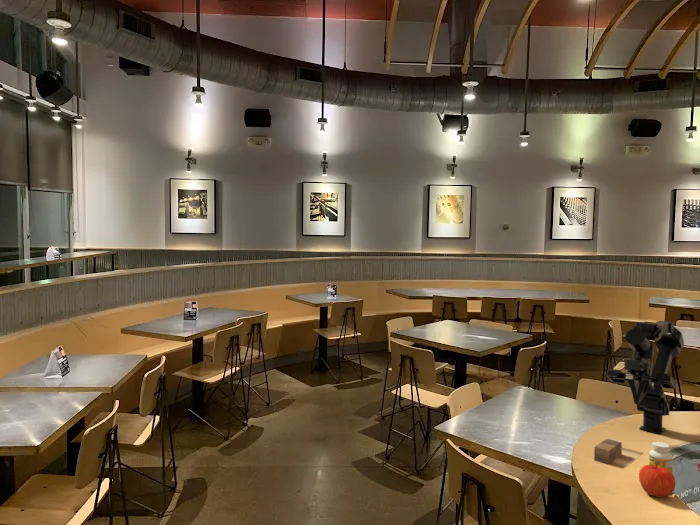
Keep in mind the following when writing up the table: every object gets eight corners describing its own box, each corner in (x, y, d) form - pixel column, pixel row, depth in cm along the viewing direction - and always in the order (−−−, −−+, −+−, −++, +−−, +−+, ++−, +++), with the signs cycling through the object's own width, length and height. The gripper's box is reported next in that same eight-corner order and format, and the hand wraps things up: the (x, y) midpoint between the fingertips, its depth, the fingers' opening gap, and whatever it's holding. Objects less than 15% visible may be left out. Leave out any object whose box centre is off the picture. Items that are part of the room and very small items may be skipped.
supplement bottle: (677, 482, 137) (677, 446, 137) (661, 485, 136) (662, 449, 135) (659, 474, 142) (660, 439, 142) (644, 476, 141) (644, 441, 140)
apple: (637, 496, 130) (637, 465, 129) (640, 484, 136) (640, 454, 136) (674, 505, 125) (675, 473, 125) (675, 492, 132) (676, 461, 131)
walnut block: (607, 437, 157) (594, 446, 151) (621, 441, 154) (608, 450, 148) (607, 450, 157) (594, 460, 151) (621, 454, 154) (608, 464, 148)
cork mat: (615, 446, 162) (615, 445, 162) (643, 454, 156) (643, 452, 156) (597, 459, 152) (597, 458, 152) (626, 467, 146) (626, 466, 146)
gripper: (603, 345, 170) (595, 390, 164) (667, 349, 156) (661, 398, 150) (615, 359, 176) (608, 403, 170) (678, 364, 162) (673, 412, 156)
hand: (636, 404), depth 161 cm, fingers closed
